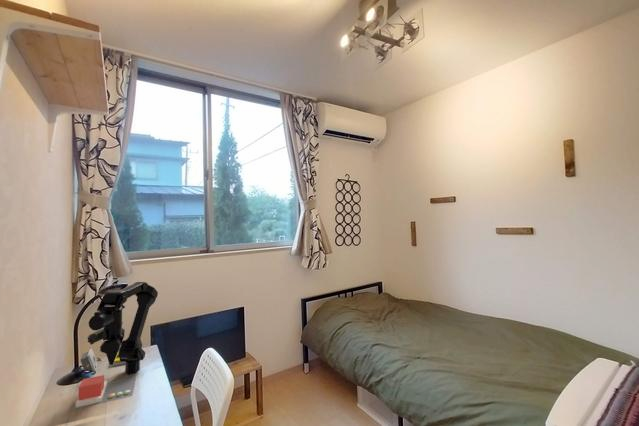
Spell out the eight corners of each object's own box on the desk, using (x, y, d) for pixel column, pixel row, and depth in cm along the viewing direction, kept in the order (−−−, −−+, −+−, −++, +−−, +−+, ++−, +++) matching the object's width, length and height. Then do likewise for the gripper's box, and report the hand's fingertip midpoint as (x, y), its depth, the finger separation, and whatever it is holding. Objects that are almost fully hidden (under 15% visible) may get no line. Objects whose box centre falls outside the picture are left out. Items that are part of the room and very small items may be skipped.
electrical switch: (96, 373, 136) (94, 353, 136) (81, 378, 134) (79, 357, 134) (98, 365, 144) (96, 346, 144) (84, 369, 142) (82, 350, 142)
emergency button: (136, 346, 158) (131, 357, 144) (136, 354, 158) (131, 366, 144) (115, 349, 154) (108, 361, 140) (115, 358, 154) (108, 370, 140)
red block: (82, 391, 117) (83, 379, 117) (104, 387, 120) (104, 374, 120) (78, 400, 110) (78, 387, 111) (100, 395, 114) (101, 382, 114)
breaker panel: (82, 390, 122) (82, 383, 123) (136, 379, 131) (136, 372, 131) (70, 413, 107) (70, 405, 107) (132, 398, 116) (132, 391, 116)
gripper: (94, 318, 129) (93, 355, 128) (84, 332, 112) (83, 374, 111) (125, 315, 134) (124, 350, 133) (119, 327, 117) (118, 367, 117)
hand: (113, 360), depth 123 cm, fingers open, 9 cm apart
